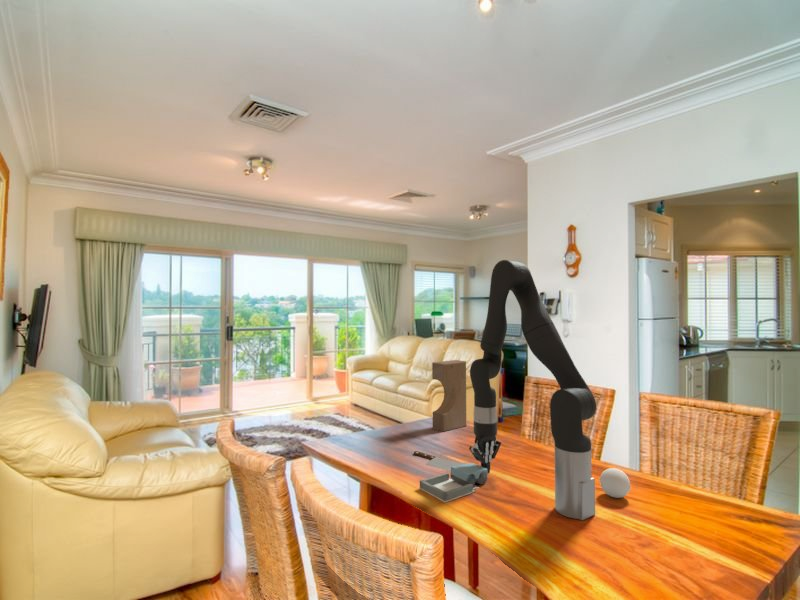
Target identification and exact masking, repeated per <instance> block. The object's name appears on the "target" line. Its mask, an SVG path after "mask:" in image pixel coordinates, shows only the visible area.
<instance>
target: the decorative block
mask: <svg viewBox="0 0 800 600" xmlns="http://www.w3.org/2000/svg"><path fill="white" fill-rule="evenodd" d="M431 367H432V369H431V371H432V373H431V376H432V377H431V378H432V380H437V381H438V382H440V383H441V386H442V388H443V400H442V402H441V404H440V405H439V407H438V408H437V409H436V410H434V411H432V429H433V430H437V431H439V432H442V433H443V432H447V431H451V430H455V429H460V428H462V427H466V426H467V361H466V360H459V359H452V360H445V361H434V362H432V363H431Z"/></svg>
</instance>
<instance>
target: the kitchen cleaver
mask: <svg viewBox="0 0 800 600" xmlns="http://www.w3.org/2000/svg"><path fill="white" fill-rule="evenodd" d="M413 456H415V457H416V456H417V457H420V458H424V459H428V460H429V461H428V462H427V463H425V465H426V466H430V467H433V468H437V469H440V470H445V471H449V472H451V467H453V466H458V465H463V464H468V463H466V462H460V461H453V460H449V459H446V458H441V457H439V456H434V455H431V454H428V453H424V452H421V451H418V450H415V451H413Z"/></svg>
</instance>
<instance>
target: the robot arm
mask: <svg viewBox="0 0 800 600" xmlns="http://www.w3.org/2000/svg"><path fill="white" fill-rule="evenodd" d="M489 287H490V288H489V295H488V296H489V297H488V306H487V307H488V308H487V313H486V320H485V325H484V329H483V332H482V336H481V340H480V344H479V346H480V349H481V350H482V351H483V355H482V358H477V359H475V360H473V361H472V363H471V365H470V368H469V377H470V381H471V386H472V389H473V395H474V396H473V401H474V402H473V403H474V404H473V405H474V406H473V434H474V436H475V438H474V444H473V446H472V445H471V446H469V451H470V453H471V454H472V456H473V458H475V460H476V461H478V462H480V466H482V467H484V468H487V469H488V474H490V471H491V462H492V460H493V459H495V458H496V456H497V454H498V451H499V450H500V447H501V445H502V442H501V441H499V440H497V437H496V436H497V434H498V411H497V410H498V409H497V392H496V390H495V388H493V386H492V387H491V383H490V382H491V381H490V380H491V379H495V378H496V377H497V376H498V375H499V373H500V372H501V371H500V370H501V367H502V357H503V356H502V349H503V346H504V342H505V340H506V339H505V338H506V335H507V331H508V321H507V320H508V319H507V315H506V305H507V299H508V296H509V293H510V291H511V292H512V293H513V295H514V297H515V299H516V300H517V303H518V306H519V308H520V312H521V314H520V315H521V316H520V317H521V318H520V321H521V322H520V323H521V324H520V327H521V333H522V334H523V337H524V339H525V341H526V343H527V345H528V348H529V349H530V351H531V352H532V353H531V354H533V355H534V357H535V358H536V359H537V360H538V361H539V362H540V363H541V364H542V365H544V367H545V368H546V369H548V371H550V372H551V374H552V375H553V377H554V378H555V380H556V382H557V383H558V384H557V385H558V386H559V389H558V390H556V391H554V392H553V393H552V396H551V397H550V403H549V414H550V416H549V417H550V431H551V434H552V438H553V440H554V501H555V502H554V509H555V510H556V512H557V513H558V514H560V515H562V516H565V517H568V518H570V519H576V520H580V521H585V520H586V519H588V518H590V517H593V516H594V515H596V480H595V479H596V478H594V477H592V440H591V438H590V437H589V436H588V435H586V434H584V431H583V422H584V421H586V420H589V419H591V418H592V417H594V416H595V414H596V411H597V401H596V399H595V396H594V393H593V392H592V390H591V389H590V387H589V386H588V384H587V382H586V381H585V378H583V377H582V375H581V373H580V372H579V370H578V368H577V367H576V365H575V364H574V361H573V359H572V358H571V355H570V353H569V352H568V350H567V348H566V345H565V344H564V341H563V339H562V338H561V335H560V333H559V332H558V329H557V328H556V325H555V323H554V322H553V320H552V319H551V316H550V314H549V312H548V310H547V308H546V306H545V305H544V302H543V300H542V299H541V296H540V293H539V292H538V289H537V286H536V284H535V281H534V278H533V275H532V273H531V271H530V269H529V267H528V266H527V265H526V264H525V263H522V262H521V261H515V260H509V259H502V260H499V261H498V262H497V263H496V264H495V265H494V267H493V268H492V272H491V276H490V285H489Z"/></svg>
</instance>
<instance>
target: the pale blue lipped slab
mask: <svg viewBox="0 0 800 600" xmlns="http://www.w3.org/2000/svg"><path fill="white" fill-rule="evenodd" d="M488 475H489V473H488V469H487V468H484V467H482V466H481V464H480V465H479V464H476V463H473V462H469V463H468V464H463V465H458V466H453V467H451V471H450V479H452V480H454V481H456V482H459V483H461V484H463V485H467V484H473V486H474V485H476V483H477V484H479V485H481V486H483V485H485V484H486V483H487V481H488Z"/></svg>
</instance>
